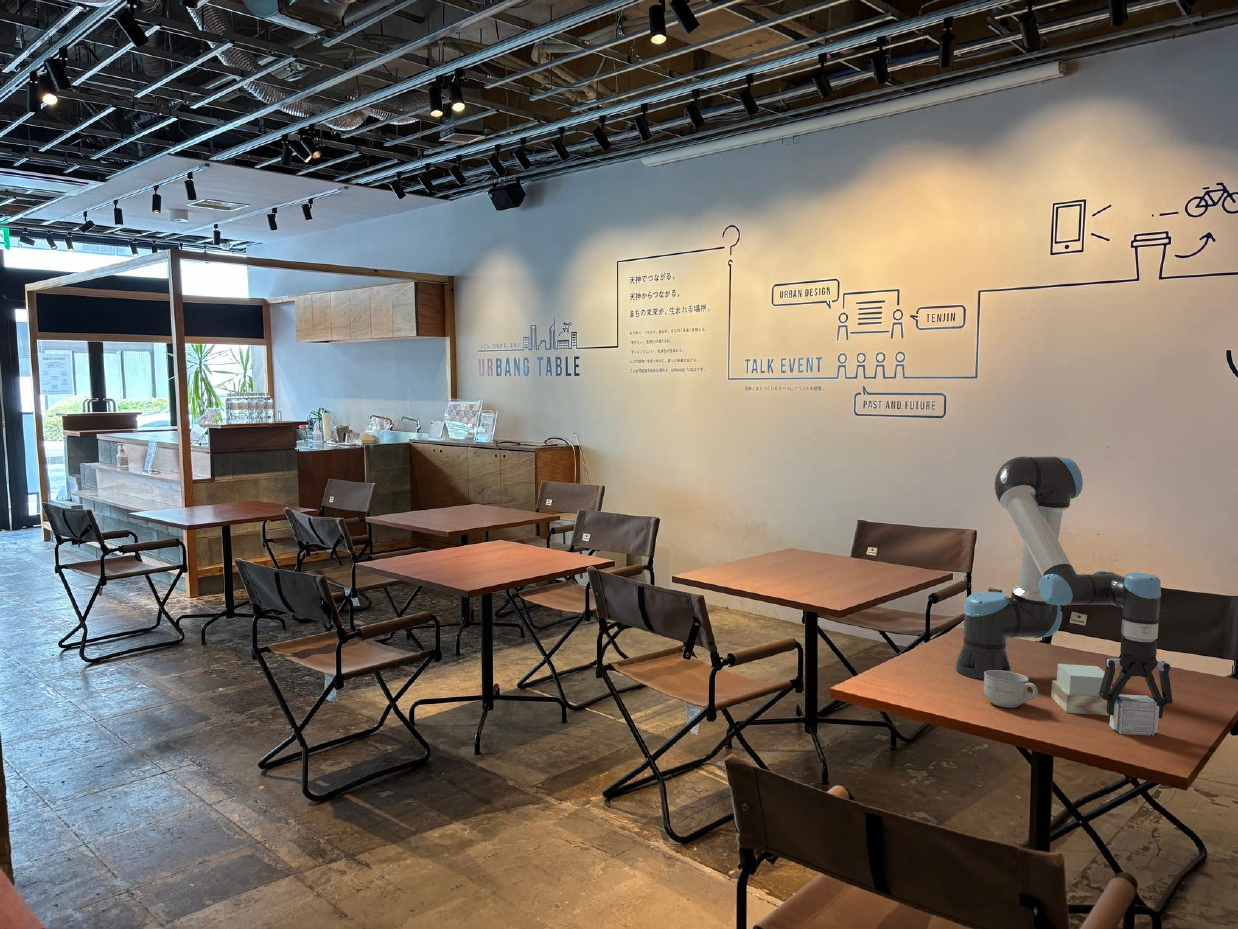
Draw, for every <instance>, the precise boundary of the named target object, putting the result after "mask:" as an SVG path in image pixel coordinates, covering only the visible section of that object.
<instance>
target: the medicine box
mask: <svg viewBox="0 0 1238 929" xmlns="http://www.w3.org/2000/svg"><path fill="white" fill-rule="evenodd" d="M1116 702H1117V703H1118V704H1119V710H1118V726H1117V730H1115V731H1116V733H1118V734H1119V735H1132V736H1133V735H1134V736H1135V735H1136V736H1151V735H1152V737H1153V736H1155V733H1154V732H1155V717H1156V704H1157V703H1156V702H1155V701H1154V698H1151V697H1149V696H1148V695H1143V694H1142V695H1139V694H1120V695H1119V696H1118V698H1117V700H1116Z"/></svg>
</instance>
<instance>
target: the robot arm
mask: <svg viewBox="0 0 1238 929" xmlns="http://www.w3.org/2000/svg"><path fill="white" fill-rule="evenodd" d="M1083 485H1084V481H1083V475H1082V472H1081V469H1080V468H1079V466H1078V464H1077V463H1076V462H1075V461H1074V460H1072V459H1071V458H1069V457H1060V456H1054V455H1053V456H1016V457H1014V458H1011V459H1009V460H1007V461H1006V462H1005V463H1003V464H1002V465H1001V466H1000V468H999V469H998V471H997V472H996V476H995V479H994V492H995V496H996V498H997V500H998V502H999V504H1000V506H1001V507H1002V508H1004V510H1007V511H1008V513H1009V515H1010V517H1011V519H1012V521H1013V524H1014V525H1015V528H1017V529H1016V530H1018V532H1019V533H1018V534H1020V536H1021V538H1022V540H1023V542H1024V545H1023V551H1022V559H1021V565H1020V573H1019V580H1018V584H1017V585H1015V586H1013V588H1012V590H1011V595H1010V596H1011V597H1009V595H1008V594H1006V593H1004V592H1000V591H979V592H974V593H972V594H970V595H968V596H967V597H966V599H965V603H964V604H965V605H964V609H963V613H964V614H963V615H964V617H963V641H962V646H961V649H960V651H959V653H958V656H957V658H956V660H955V671H956V672H958V673H959V674H961V675H963V676H966V677H969V678H974V679H977V678H978V680H983V681H984V676H985V675H984V672H985V671H988V670H1001V671H1009V672H1012V666H1011V662H1010V658H1009V656H1008V652H1007V639H1009V638H1011V639H1012V638H1022V639H1023V638H1026V639H1027V638H1034V639H1040V638H1046V637H1050V636H1052V635H1055V634H1056V633H1057V632H1058V630H1059V628H1061V624H1062V619H1063V611H1062V610H1061V609H1062V607H1061V606H1068V605H1069V606H1072V605H1074V606H1075V605H1088V606H1090V605H1111V606H1112V605H1113V606H1115V607H1119V608H1121V609H1122V620H1121V631H1120V632H1121V635H1122V636H1121V638H1120V649H1119V650H1120V653H1119V656H1118V658H1109V657H1107V658H1105V669H1104V672H1105V673H1104V677H1103V681H1102V684H1101V688H1100V691H1099V696H1100V697H1102V698H1103V699H1104V700H1107V713H1108V714H1109V715H1110V716H1109V715H1108V716H1109V727H1110V728H1111V729H1112V730H1115V731H1116V730H1117V726H1118V710H1119V704H1118V703H1117V702H1116V700H1117V698H1118V696H1119V695H1121V693H1122V691H1123V689H1125V686H1126V684H1127V683H1128V681H1129V680H1131V678H1132V677H1141V678H1144V680H1145V682H1146V684H1147V687H1148V689H1149V691H1150V694H1151V696H1152V699H1153V700H1154V701H1155V702H1156V703H1157V704H1156V717H1155V732H1154V734H1157V733H1158V732H1159V731H1158V730H1159V729H1158V728H1159V719H1162V718H1163V717H1164V714H1163V713H1164V708H1165V707H1166V706H1167V705H1168V704H1169V705H1172V704H1173V695H1172V694H1173V693H1172V687H1171V681H1170V675H1169V673H1170V669H1171V665H1170V664H1169V663H1168V662H1166V661H1164V660H1161V661H1159V660H1157V654H1158V653H1157V651H1158V650H1157V649H1158V642H1157V639H1158V636H1159V634H1158V633H1159V619H1160V607H1161V596H1162V590H1161V585H1162V584H1161V579H1160V578H1159V576H1157V575H1154V574H1151V573H1150V574H1149V573H1144V572H1128V573H1127V574H1125V576H1122V575H1121V574H1118V573H1114V572H1113V571H1112V572H1111V571H1103V570H1100V571H1096V572H1094V573H1093V574H1089V573H1088V574H1086V573H1085V574H1083V573H1082V574H1081V573H1080V574H1079V573H1077V572H1076V570H1075V569H1074V567H1073V565H1072V563H1071V562H1070V559H1069V557H1068V556H1067V554H1066V553H1065V551H1064V549H1063V547H1062V545H1061V543H1060V542H1059V537H1060V533H1061V532H1060V531H1061V524H1062V520H1063V519H1062V518H1063V512H1065V511H1066V510H1067V509H1069V508H1070V506H1071V499H1072V500H1073V499H1075V498H1078V497H1079V495H1080V494H1081V493H1082V490H1083ZM1118 665H1120V666H1121V669H1120V670H1119V673H1118V676H1117V678H1116V679H1115V681H1114V678H1115V673H1116V669H1117V668H1118ZM1155 668H1157V670H1158V674H1159V684H1160V689H1161V692H1160V690H1159V688H1158V685H1157V683H1156V681H1155V677H1154V675H1153V671H1154V669H1155ZM1113 681H1114V683H1113ZM1111 685H1112V688H1111ZM1110 689H1111V690H1110Z"/></svg>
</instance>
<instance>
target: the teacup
mask: <svg viewBox="0 0 1238 929" xmlns="http://www.w3.org/2000/svg"><path fill="white" fill-rule="evenodd" d="M984 675H985V676H984V680H983V694H984V695H985V697H986V698H987V700H988V701H990V703H991V704H993V705H994V706H995V705H996V706H998V707H1002V708H1008V709H1009V708H1011V709H1012V708H1014V709H1015V708H1018V707H1019V706H1020V705H1022V704H1026V703H1027V702H1028V701H1032V700H1033V699H1036V698H1037V696H1038V693H1039V690H1038V687H1037V685H1036V684H1034V683H1032V682H1029V681H1030V680H1029V677H1028V676H1026V675H1023V674H1020V673H1017V672H1013V671H1011V672H1009V671H1001V670H988V671H985V672H984ZM1028 688H1031V689H1032V694H1031V695H1029V696H1028Z"/></svg>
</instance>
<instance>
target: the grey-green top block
mask: <svg viewBox="0 0 1238 929" xmlns="http://www.w3.org/2000/svg"><path fill="white" fill-rule="evenodd" d="M1104 673H1105V670H1103V669H1102V668H1100V666H1097V665H1083V664H1066V663H1057V674H1056V680H1057V683H1058V684H1059V685H1060V686H1061V687H1062V688H1063V689H1064V690H1065V691H1066V692H1067V693H1068V694H1070V695H1085V696H1099V691H1100V688H1101V684H1102V681H1103V677H1104ZM1112 686H1113V684H1112V685H1111V688H1112ZM1110 690H1111V689H1110Z"/></svg>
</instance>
